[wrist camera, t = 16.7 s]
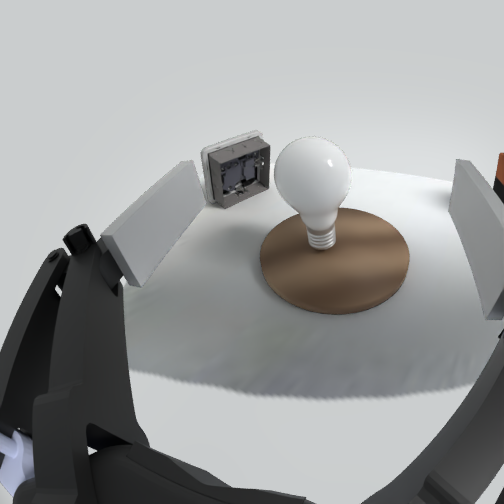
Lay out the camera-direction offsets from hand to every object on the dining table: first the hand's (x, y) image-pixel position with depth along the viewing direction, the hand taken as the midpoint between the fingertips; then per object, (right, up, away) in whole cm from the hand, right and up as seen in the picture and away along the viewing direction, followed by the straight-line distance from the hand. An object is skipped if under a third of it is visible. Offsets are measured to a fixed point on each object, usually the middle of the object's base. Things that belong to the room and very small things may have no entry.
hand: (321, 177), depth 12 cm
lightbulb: (+4, -3, +15) cm, 15 cm away
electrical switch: (-4, +5, +28) cm, 29 cm away
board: (+5, -4, +15) cm, 16 cm away
